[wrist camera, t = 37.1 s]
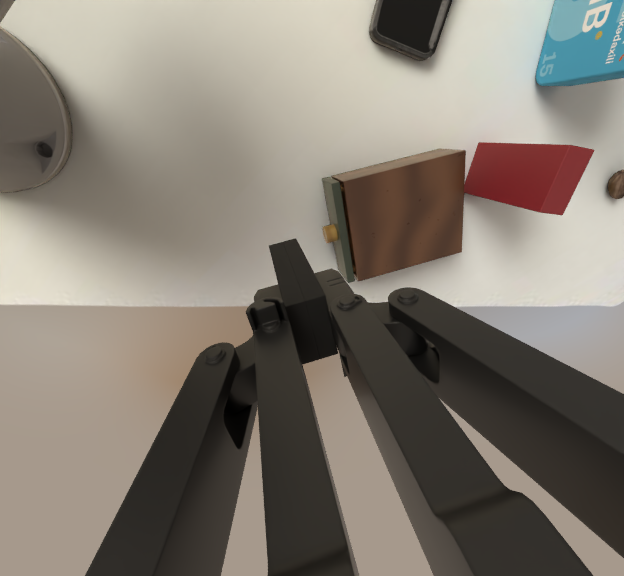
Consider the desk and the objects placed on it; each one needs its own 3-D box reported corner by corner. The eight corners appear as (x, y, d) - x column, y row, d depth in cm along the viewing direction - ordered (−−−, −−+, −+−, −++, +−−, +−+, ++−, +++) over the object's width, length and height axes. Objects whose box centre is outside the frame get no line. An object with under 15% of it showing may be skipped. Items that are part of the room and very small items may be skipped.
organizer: (346, 266, 45) (358, 281, 40) (331, 175, 39) (343, 181, 34) (439, 240, 46) (461, 252, 41) (439, 148, 40) (465, 150, 35)
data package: (564, -43, 33) (713, -125, 23) (598, -40, 34) (756, -118, 23) (531, 87, 39) (638, 69, 28) (560, 87, 39) (675, 70, 29)
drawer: (329, 272, 44) (337, 286, 40) (311, 181, 38) (319, 186, 34) (435, 242, 46) (454, 252, 42) (435, 150, 39) (457, 151, 35)
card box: (478, 142, 40) (570, 144, 29) (498, 145, 41) (595, 149, 30) (461, 192, 43) (539, 212, 32) (480, 194, 44) (563, 215, 33)
